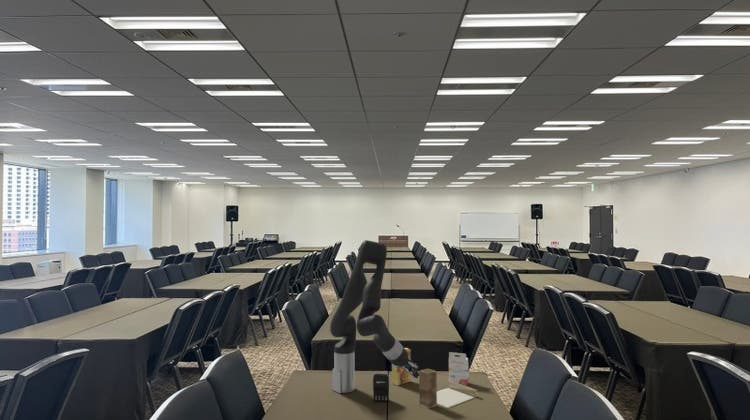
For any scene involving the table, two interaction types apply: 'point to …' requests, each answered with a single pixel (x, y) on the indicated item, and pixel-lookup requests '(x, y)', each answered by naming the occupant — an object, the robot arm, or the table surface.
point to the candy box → (401, 373)
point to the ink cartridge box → (458, 368)
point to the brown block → (428, 388)
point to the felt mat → (451, 398)
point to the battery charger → (381, 387)
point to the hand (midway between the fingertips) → (417, 376)
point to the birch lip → (463, 389)
